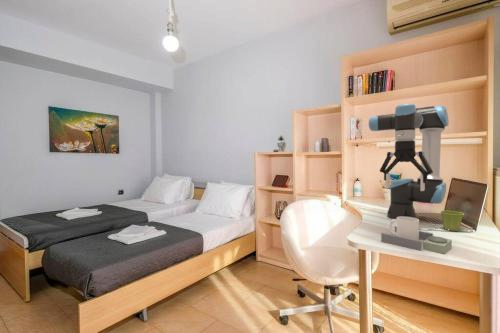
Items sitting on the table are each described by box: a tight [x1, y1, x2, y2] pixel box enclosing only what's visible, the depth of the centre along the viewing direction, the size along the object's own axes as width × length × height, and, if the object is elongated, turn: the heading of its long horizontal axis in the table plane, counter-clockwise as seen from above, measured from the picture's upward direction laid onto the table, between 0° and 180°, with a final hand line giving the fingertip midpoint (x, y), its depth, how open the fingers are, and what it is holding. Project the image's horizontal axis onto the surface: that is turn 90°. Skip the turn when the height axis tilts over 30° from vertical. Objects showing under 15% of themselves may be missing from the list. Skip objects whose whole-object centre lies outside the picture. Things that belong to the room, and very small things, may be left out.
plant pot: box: [439, 210, 465, 232], centre depth 128 cm, size 9×9×9 cm
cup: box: [388, 217, 420, 241], centre depth 113 cm, size 8×12×10 cm
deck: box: [380, 226, 453, 255], centre depth 110 cm, size 16×22×4 cm
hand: (404, 189), depth 113 cm, fingers open, 13 cm apart
